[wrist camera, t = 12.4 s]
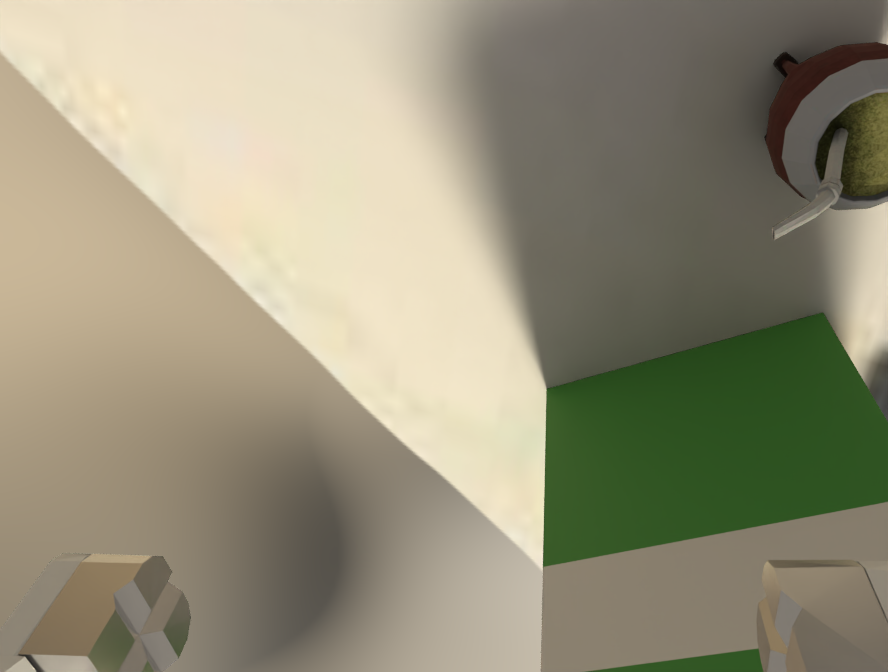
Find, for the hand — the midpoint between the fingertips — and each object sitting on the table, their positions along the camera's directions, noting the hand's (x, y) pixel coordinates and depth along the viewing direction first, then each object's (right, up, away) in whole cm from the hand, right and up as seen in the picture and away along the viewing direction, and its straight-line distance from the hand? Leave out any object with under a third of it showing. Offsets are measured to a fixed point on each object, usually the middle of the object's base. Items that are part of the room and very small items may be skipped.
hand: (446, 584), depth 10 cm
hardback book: (+17, 0, +38) cm, 42 cm away
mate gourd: (+19, +16, +27) cm, 36 cm away
